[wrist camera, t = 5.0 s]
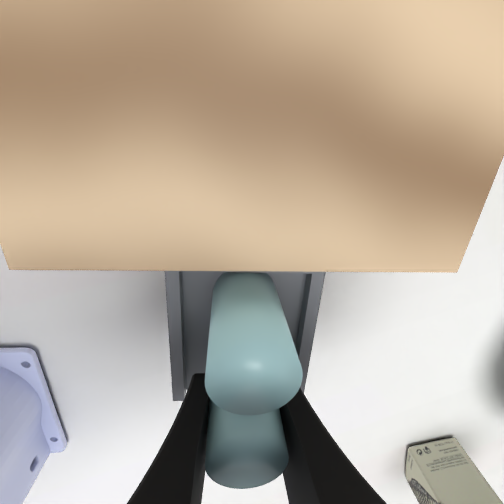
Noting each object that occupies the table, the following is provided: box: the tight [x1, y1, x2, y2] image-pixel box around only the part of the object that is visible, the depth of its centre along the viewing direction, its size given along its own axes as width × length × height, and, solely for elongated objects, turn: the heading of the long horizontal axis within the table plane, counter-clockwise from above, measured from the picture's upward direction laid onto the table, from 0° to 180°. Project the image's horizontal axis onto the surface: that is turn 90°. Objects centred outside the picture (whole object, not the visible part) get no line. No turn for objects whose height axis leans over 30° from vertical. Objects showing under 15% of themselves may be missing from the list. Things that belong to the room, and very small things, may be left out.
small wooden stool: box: [0, 0, 504, 272], centre depth 10 cm, size 8×13×7 cm, turn 87°
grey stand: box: [165, 271, 325, 489], centre depth 11 cm, size 10×6×5 cm, turn 176°
